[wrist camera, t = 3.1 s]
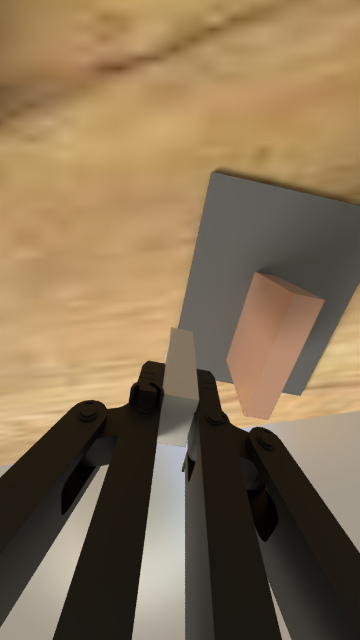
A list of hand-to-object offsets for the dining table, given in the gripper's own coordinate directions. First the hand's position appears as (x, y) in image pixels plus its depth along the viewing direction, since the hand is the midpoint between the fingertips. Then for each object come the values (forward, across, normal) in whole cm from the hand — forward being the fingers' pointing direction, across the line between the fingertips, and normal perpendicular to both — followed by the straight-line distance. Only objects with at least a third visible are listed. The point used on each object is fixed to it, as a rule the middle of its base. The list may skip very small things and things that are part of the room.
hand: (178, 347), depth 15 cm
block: (+8, +7, 0) cm, 11 cm away
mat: (+8, +8, +2) cm, 12 cm away
